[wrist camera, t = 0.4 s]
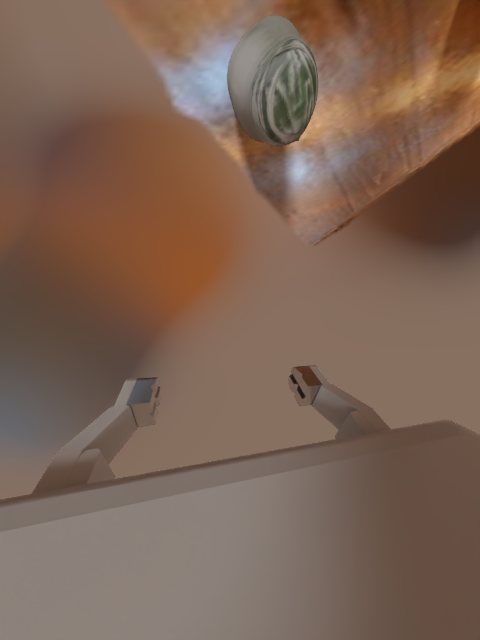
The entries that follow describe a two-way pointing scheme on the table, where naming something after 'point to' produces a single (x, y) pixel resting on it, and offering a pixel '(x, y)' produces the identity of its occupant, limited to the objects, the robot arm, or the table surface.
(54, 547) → the robot arm
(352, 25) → the table surface
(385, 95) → the table surface
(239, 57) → the glass bottle
